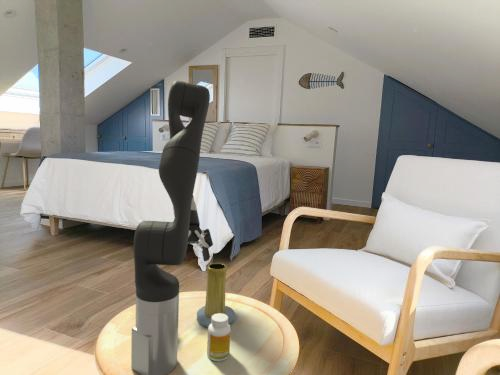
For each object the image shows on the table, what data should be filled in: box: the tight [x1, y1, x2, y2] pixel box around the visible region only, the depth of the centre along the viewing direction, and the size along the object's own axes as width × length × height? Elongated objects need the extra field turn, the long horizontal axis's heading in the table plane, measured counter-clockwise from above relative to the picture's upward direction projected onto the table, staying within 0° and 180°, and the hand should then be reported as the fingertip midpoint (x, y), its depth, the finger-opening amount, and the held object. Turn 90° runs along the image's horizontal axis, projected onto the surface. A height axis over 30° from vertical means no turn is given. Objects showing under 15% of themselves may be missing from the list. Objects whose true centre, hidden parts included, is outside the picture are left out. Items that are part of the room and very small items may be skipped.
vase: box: [204, 262, 227, 318], centre depth 100 cm, size 6×6×14 cm
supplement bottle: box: [206, 313, 232, 362], centre depth 84 cm, size 5×5×10 cm
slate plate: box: [196, 305, 236, 329], centre depth 101 cm, size 11×11×2 cm
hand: (195, 261), depth 108 cm, fingers open, 8 cm apart
